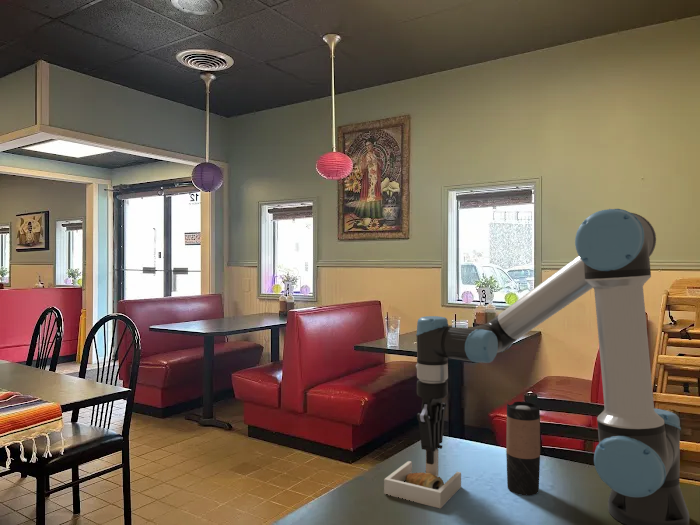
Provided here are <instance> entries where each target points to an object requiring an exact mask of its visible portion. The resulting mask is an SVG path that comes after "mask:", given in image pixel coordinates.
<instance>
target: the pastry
mask: <svg viewBox="0 0 700 525" xmlns="http://www.w3.org/2000/svg"><path fill="white" fill-rule="evenodd" d="M405 482H407V483H411V484H415V485H419V486H423V487H427V488H431V489H436V490H439V489H440V488H441V487H442V486H443V485H444V484H445V482H444V480H443V478H441V477H440V476H435V475H433V474H431V473H426V472H412V473H410V474H408V475H406V481H405Z"/></svg>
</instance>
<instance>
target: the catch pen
mask: <svg viewBox="0 0 700 525" xmlns="http://www.w3.org/2000/svg"><path fill="white" fill-rule="evenodd" d="M410 473H413V462H412V461H410V460H408V461H406V462H405V463H404V464H402V465H401V466H400V467H398V468H397V469H395V470H394V471H393V472H392V473H390V474H389V475H388V476H386V477H385V478H384V479H383V483H384V484H383V488H384V489H383V494H384V495H386V494H388V495H387V496H390V495H391V497H394V498H398V497H399V499H402V498H403V500H405V499H406V501H409V500H410V502H413V501H414V503H418V504H422V505H425V506H429V507H432V508H433V507H434V508H436V509H442V508H443V507H444V506H445V505H446V503H447V502H449V500H450V499H451V498H452V497H453V496H455V494H456V493H457V492H458V490H460V489H461V488H462V472H461V471H456V472H455V473H454V474H453V475H452V476H451V477H450V478H449V479H448V480H447V481H446V482H444V485H443V486H442V487H441V488H440V489H439V490H436V489H431V488H427V487H423V486H419V485H415V484H411V483H407V482H406V481H405V480H406V475H408V474H410ZM404 481H405V482H404Z"/></svg>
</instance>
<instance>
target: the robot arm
mask: <svg viewBox="0 0 700 525" xmlns="http://www.w3.org/2000/svg"><path fill="white" fill-rule="evenodd" d="M656 234H657V233H656V232H655V229H654V227H653V225H652V224H651V223H650V221H649V220H648V219H646V218H645V217H643V216H642V215H640V214H637V213H636V212H635V213H634V212H630V211H627V210H625V209H620V208H609V209H601V210H598V211H596V212H594V213H592V214H590V215H589V216H587V217H586V218H585V219H584V220H583V221H582V223H581V224H580V225H579V227H578V228H577V230H576V234H575V239H574V244H575V246H574V247H575V250H576V253H577V256H576V257H575V258H573V259H572V260H571V261H569V262H568V263H567V264H565V265H564V266H562V267H561V268H559V269H558V270H557V271H555V272H554V273H553V274H552V275H550V276H549V277H547V278H546V279H544V281H542V282H541V283H540V284H538V285H537V286H536V287H534V288H532V289H531V290H530V291H528V293H526V294H524V295H523V296H522V297H520V298H519V299H518V300H516V301H515V302H514V303H512V304H511V305H510V306H508V307H507V308H506V309H504V310H503V311H501V312H500V313H498V314H497V315H496V316H494V318H492V319H491V320H489V321H488V322H487V323H484V324H481V325H476V326H473V327H454V326H450V325H449V321H448V318H446V317H444V316H436V315H435V316H434V315H431V316H430V315H429V316H421V317H419V318H418V319H417V324H416V333H415V335H416V354H417V355H416V364H415V368H416V378H417V381H416V395H417V397H420V398H421V399H422V402H421V412H418V413H416V418H417V422H418V429H419V436H420V437H419V438H420V447H421V450H424V451H425V473H431V474H433V475H435V476H437V477H439V449H440V450H441V449H442V448H443V445H442V444H443V437H444V436H443V435H444V428H445V427H444V426H445V416H446V414H445V413H446V409H447V403H446V402H443V399H445V398H447V397H448V394H449V388H448V387H449V386H448V385H449V383H448V381H447V380H448V379H449V369H448V368H449V366H448V365H449V363H448V359H453V360H461V361H468V362H472V363H475V364H476V363H477V364H479V363H482V364H483V363H484V364H489V363H492V362H493V361H494V360H495V358H496V357H497V354H498V353H503V352H505V351H506V350H508V349H509V348H511V346H512V345H513V343H514V342H517V341H518V340H519V339H520V338H521V337H523V336H524V335H527V334H528V333H529V332H531V331H532V330H533V329H535V328H536V327H538V326H539V325H540V324H542V323H544V322H545V321H546V320H549V318H551V317H552V316H554V315H555V314H557V313H559V311H562V309H565V308H566V307H567V306H568V305H570V304H571V303H573V302H574V301H576V300H577V299H579V298H580V297H582V296H583V295H585V294H586V293H587V292H589V291H590V290H592V289H594V290H593V291H594V292H593V293H594V301H595V302H594V304H595V312H596V314H595V315H596V324H597V326H596V327H597V334H598V336H597V338H598V348H599V359H600V369H601V370H600V372H601V382H602V383H601V384H602V394H603V404H604V408H603V410H602V412H601V413H600V414H599V415H597V418H596V421H597V432H598V444H597V445H596V447H595V450H594V455H593V464H594V467H595V470H596V473H597V475H598V476H599V478H600V479H601V481H602V482H603V483H604V484H606V485H607V486H608V488H609V489H610V493H609V496H608V500H607V509H608V510H607V511H608V513H609V514H610V515H611V517H613V518H614V519H615V520H616V521H618V522H620V523H622V524H623V525H690V513H689V510H688V506H687V503H686V502H685V498H684V495H683V492H682V488H681V486H680V472H681V471H680V464H681V463H680V459H681V457H680V456H681V455H680V452H681V451H680V444H681V442H680V440H681V438H680V437H681V436H680V435H681V434H680V431H682V427H681V424H680V417H679V415H677V414H676V413H674V412H672V411H669V410H665V409H661V408H655V404H654V394H653V392H654V391H653V385H652V384H653V382H652V371H651V370H652V369H651V360H650V350H649V339H648V329H647V328H648V327H647V317H646V316H647V315H646V305H645V295H644V285H645V284H646V283H647V282H648V280H650V279H651V278H652V272H651V270H652V269H651V261H650V260H651V259H650V258H651V256H652V254H654V253H653V252H654V250H655V248H656V245H657V235H656Z"/></svg>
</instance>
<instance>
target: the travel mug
mask: <svg viewBox="0 0 700 525" xmlns="http://www.w3.org/2000/svg"><path fill="white" fill-rule="evenodd" d="M540 418H541V409H540V405H538V404H536V403H533V402H529V401H528V402H527V401H514V402H513V403H511V404H509V403H507V404H506V436H505V437H506V438H505V440H506V445H505V446H506V448H505V449H506V450H505V451H506V452H505V453H506V454H505V455H506V483H507V489H508V490H509V492H511V493H513V494H516V495H520V496H526V497H527V496H535V495H537V494H538V493H539V490H540V468H541V465H540V464H541V426H540V425H541V424H540V423H541V422H540V421H541V420H540Z"/></svg>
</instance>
